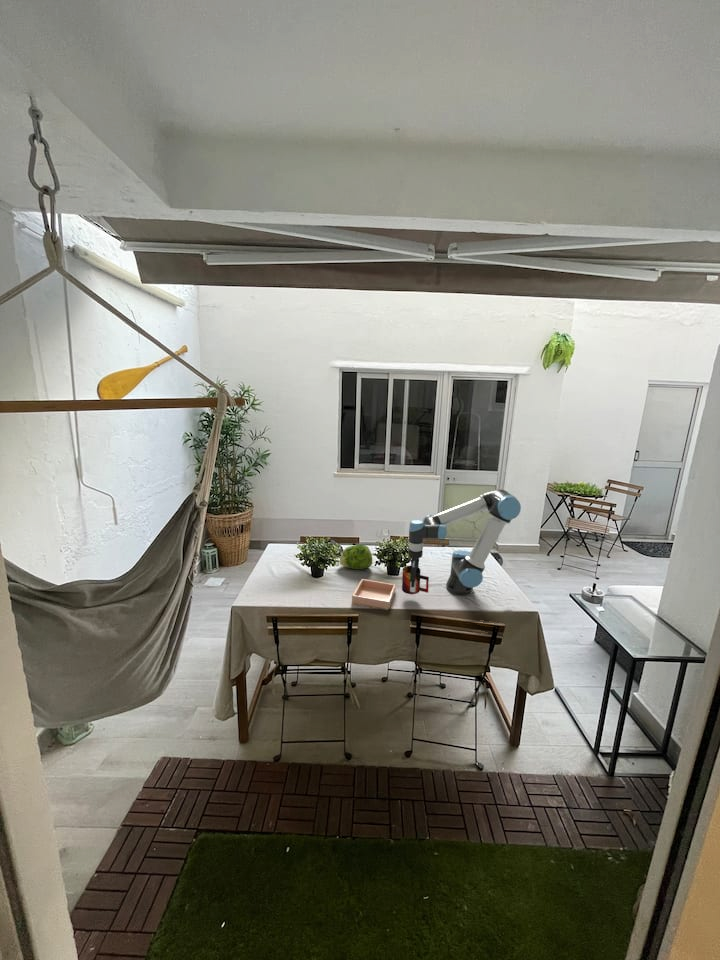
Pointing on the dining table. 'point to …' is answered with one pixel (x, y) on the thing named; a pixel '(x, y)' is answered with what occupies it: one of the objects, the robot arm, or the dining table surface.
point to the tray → (374, 594)
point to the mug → (406, 578)
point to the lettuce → (356, 557)
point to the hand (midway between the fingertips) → (413, 587)
